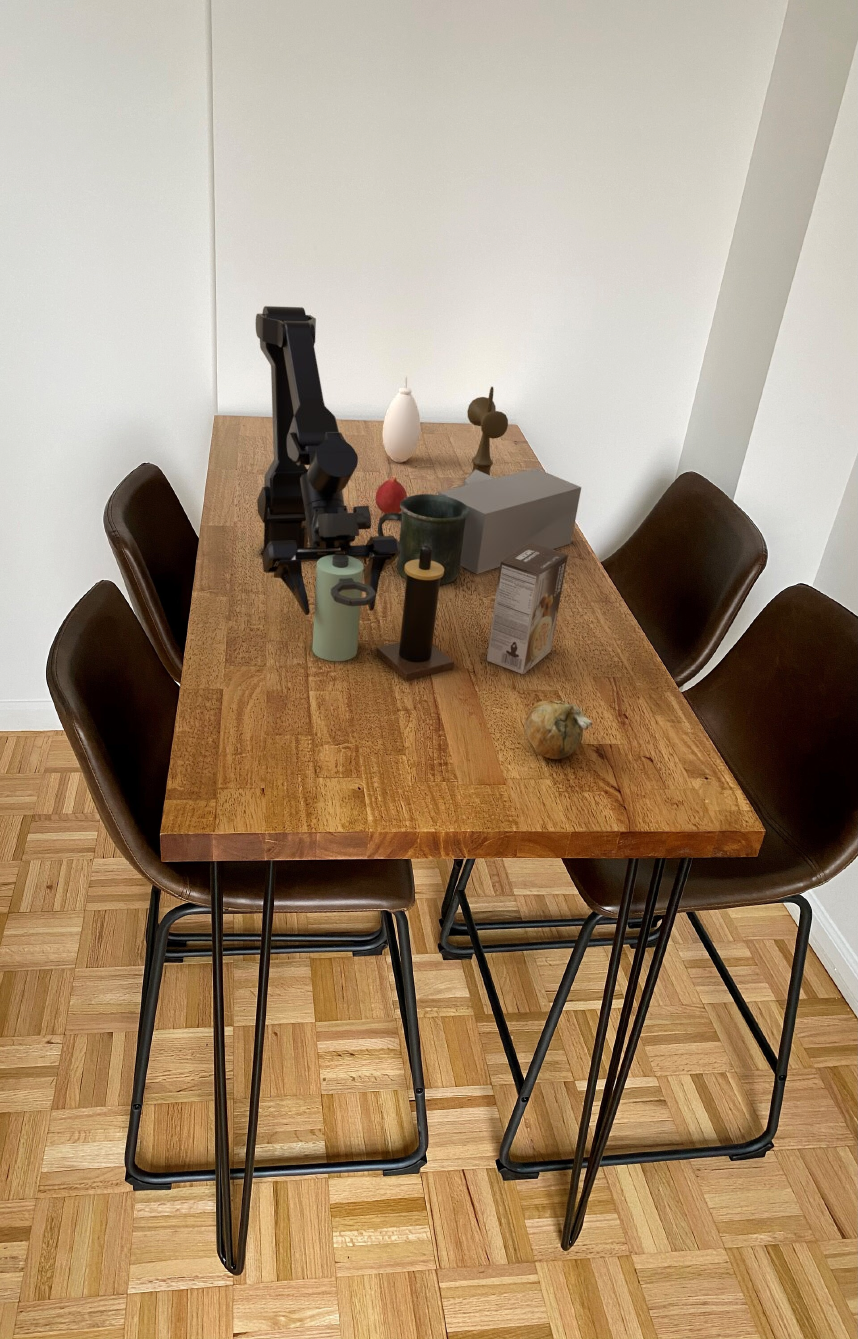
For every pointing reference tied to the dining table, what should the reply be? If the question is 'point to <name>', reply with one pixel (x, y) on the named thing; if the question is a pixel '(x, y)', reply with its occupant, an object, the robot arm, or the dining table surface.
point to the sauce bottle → (401, 426)
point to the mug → (430, 531)
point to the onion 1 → (390, 496)
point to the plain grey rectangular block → (514, 515)
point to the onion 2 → (555, 728)
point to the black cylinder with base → (418, 622)
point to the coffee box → (526, 607)
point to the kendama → (486, 429)
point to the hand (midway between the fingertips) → (340, 612)
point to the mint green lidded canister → (338, 606)
